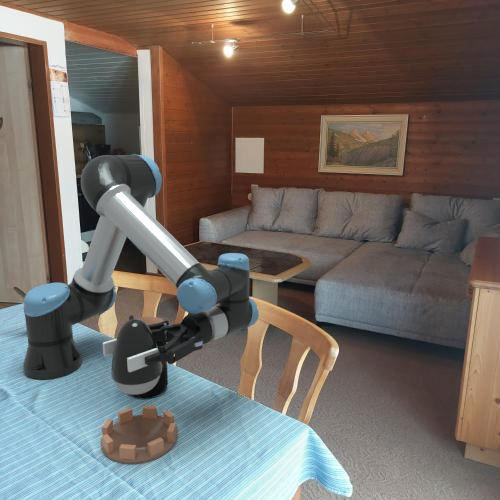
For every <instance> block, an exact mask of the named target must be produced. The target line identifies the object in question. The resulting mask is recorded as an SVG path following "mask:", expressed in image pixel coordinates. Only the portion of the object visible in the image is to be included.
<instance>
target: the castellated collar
mask: <svg viewBox="0 0 500 500" xmlns="http://www.w3.org/2000/svg"><path fill="white" fill-rule="evenodd" d="M157 407H158V406H157V405H143V406H142V414H137V415H133V409H132V407H128V408H125V409H123V410H119V411H117V422H115V423H114V421H113V420H114V419H110V418H107V419H106V420H105V422H104V424H103V425H102V426H101V440H100V447H101V448H100V449H101V451H102V454H103V455H104V456H105V457H106V458H107V459H109V460H110V461H113V462H114V463H118V464H123V465H124V464H125V465H138V464H144V463H148V462H152V461H155V460H156V459H159V458H161V457H163V456H165V455H167V453H169V452H170V451H171V450H172V449H173V448H174V447H175V445H176V443H177V441H178V436H179V435H178V429H177V428H178V427H177V423H175V422H176V421H175V415H174V414H173V413H172V412H171V411H170V410H169V409H165V410H163V411H162V415H158V409H157Z"/></svg>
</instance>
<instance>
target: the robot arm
mask: <svg viewBox="0 0 500 500" xmlns="http://www.w3.org/2000/svg"><path fill="white" fill-rule="evenodd" d="M162 182H163V179H162V174H161V172H160V168H159V166H158V164H157V163H156V162H155V161H154V160H153V159H152V158H150V157H149V156H146V155H141V154H136V153H133V154H127V155H126V154H125V155H124V154H122V155H119V154H117V155H116V154H114V155H113V154H112V155H110V154H105V155H104V154H103V155H99V156H96V157H94V158H92V159H91V160H90V161H89V162H87V163H86V164H85V166H84V168H83V170H82V172H81V176H80V187H81V191H82V194H83V196H84V198H85V200H86V201H87V203H88V204H89V206H90V207H91V208H92V209H93V210H94V211H95V212H96V213H97V215H99V216H100V217H99V218H98V220H97V221H98V222H97V224H96V227H95V231H94V233H93V236H92V239H91V242H90V245H89V248H88V249H87V253H86V256H85V259H84V263H83V265H82V267H81V268H78V269H77V270H76V271H74V274H73V277H72V280H71V282H70V283H69V284H66V283H64V282H51V283H45V284H44V283H43V284H40V285H38V286H36V287H33V288H31V289H30V290H29V291H28V292H26V293H25V294H26V295H25V298H23V314H24V313H25V314H24V317H25V318H24V319H25V326H26V337H27V348H26V353H25V358H24V360H23V373H24V375H25V376H26V377H27V378H31V379H33V380H34V379H35V380H52V379H56V378H60V377H64V376H67V375H69V374H71V373H73V372H75V371H76V370H78V369H79V368H80V367H81V365H82V355H81V354H82V353H81V352H80V350H79V348H78V345H77V343H76V341H75V339H74V335H73V334H74V333H73V326H74V325H76V324H78V323H81V322H84V321H86V320H90V319H92V318H95V317H98V316H101V315H102V314H104V313H106V312H107V311H109V310H110V309H111V308H112V307H113V306H114V304H115V303H116V300H117V292H116V291H115V290H116V285H115V282H114V279H113V278H112V275H113V273H114V270H115V269H116V268H115V267H116V265H117V264H118V263H117V262H118V261H119V258H120V254H121V253H122V249H123V247H124V244H125V242H126V241H127V238H128V240H130V242H131V243H132V244H133V245H134V246H135V247H136V248H137V249H138V250H139V251H140V253H142V254H143V255H144V256H145V257H146V259H148V260H149V261H150V262H151V263H152V264H153V265H154V267H156V268H157V269H158V270H159V271H160V272H161V273H162V275H164V277H166V279H167V280H169V282H171V284H173V286H174V287H175V289H177V290H176V299H177V301H178V303H179V306H180V307H181V309H183V311H185V312H186V313H188V314H187V315H185V316H184V317H183V319H182V320H181V322H179V323H173V324H172V325H171V324H170V323H169V320H164V321H163V322H160V323H157V324H152V325H148V327H149V328H150V330H151V332H152V334H153V336H154V338H155V341H156V342H157V341H162V342H163V343H166V345H164V346H161V347H160V346H159V350H160V352H158V349H157V348H155V349H152V350H149V351H146V352H143V353H140V354H137V355H135V356H132V357H129V358H127V365H128V372H132V371H135V370H138V369H140V368H143V367H146V366H148V365H151V364H154V363H157V362H159V361H160V362H165V361H167V365H168V364H169V365H173V364H175V363H176V362H178V361H180V360H182V359H183V358H184V357H187V356H188V355H190V354H192V353H194V352H195V351H199V350H202V349H203V346H204V345H206V344H208V343H210V342H215V341H216V340H217V339H218V340H219V339H221V338H224V337H226V336H229V335H233V334H234V333H237V332H241V331H244V330H246V329H248V328H250V327H252V326H254V325H255V324H256V323H257V322H258V319H259V316H260V315H259V314H260V310H259V309H258V305H257V303H256V302H255V300H253V299H252V298H251V297H250V277H251V276H250V272H251V269H250V259H249V256H247V255H246V254H244V253H239V252H237V253H236V252H229V253H223V254H221V255H220V256H219V257H218V258H217V261H218V262H217V267H216V268H214V269H212V270H208V269H207V268H205V267H204V266H203V265H202V263H200V262H199V261H198V260H197V259H196V258H195V256H193V255H192V254H191V253H190V252H189V251H188V249H186V248H185V247H184V246H183V245H182V244H181V243H180V242H179V240H178V239H176V238H175V236H173V234H171V232H169V231H168V230H167V229H166V228H165V227H164V226H163V225H162V224H161V223H160V222H159V221H158V220H157V219H156V218H155V217H154V216H153V215H152V214H151V213H150V212H149V211H148V209H146V208H145V207H146V203H147V200H148V199H151V198H154V197H155V196H156V195H158V193H159V192H160V190H161V187H162ZM165 334H166V338H165ZM116 340H117V337H116V338H114V339H110V340H107V341H103V342H102V353H103V356H104V357H106V356H109V355H113V352H114V347H115V343H116Z"/></svg>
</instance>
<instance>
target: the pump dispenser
mask: <svg viewBox="0 0 500 500" xmlns="http://www.w3.org/2000/svg"><path fill="white" fill-rule="evenodd" d="M134 318H135V316H134V315H129V316H128V320H129V321H128V320H127V321H125V322H126V323H125V322H124V323H125V324H124V323H123V324H124V325H123V324H122V326H121V328H120V330H119V332H118V335H117V337H116V338H117V340H116V343H115V347H114V352H113V354H112V361H111V368H110V369H111V370H110V372H111V373H110V374H111V378H112V380H113V382H114V384H115V385H116V387H117V389H118V390H120V391H121V392H123V393H125V394H128V395H130V394H132V395H137V394H142V393H145V392H148V391H149V390H151V389H152V388H153V387H154V386H155V385H156V384H157V382H158V380H159V378H160V374H161V372H162V363H161V362H160V361H159V362H157V363H154V364H151V365H148V366H146V367H143V368H140V369H138V370H135V371H132V372H128V365H127V358H129V357H132V356H135V355H137V354H140V353H143V352H146V351H149V350H152V349H155V348H157V349H158V347H157V344H156V341H155V338H154V336H153V334H152V332H151V330H150V328H149V327H148V325H147V324H146V323H145V322H144V321H142V320H139V319H134ZM158 352H159V350H158Z"/></svg>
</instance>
